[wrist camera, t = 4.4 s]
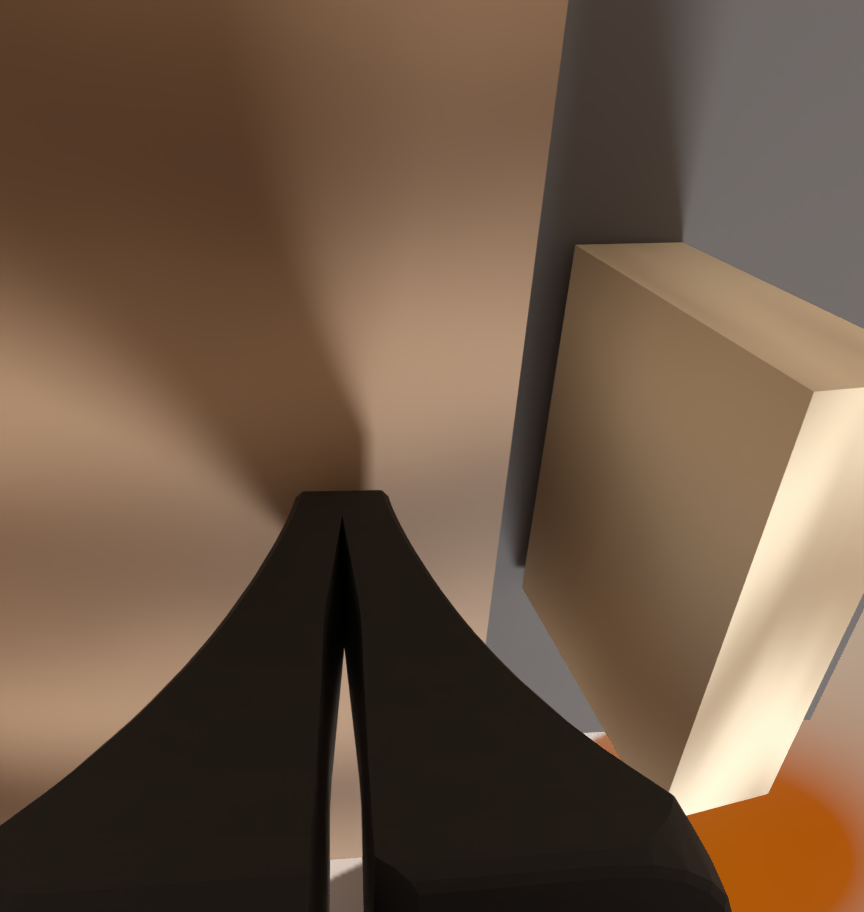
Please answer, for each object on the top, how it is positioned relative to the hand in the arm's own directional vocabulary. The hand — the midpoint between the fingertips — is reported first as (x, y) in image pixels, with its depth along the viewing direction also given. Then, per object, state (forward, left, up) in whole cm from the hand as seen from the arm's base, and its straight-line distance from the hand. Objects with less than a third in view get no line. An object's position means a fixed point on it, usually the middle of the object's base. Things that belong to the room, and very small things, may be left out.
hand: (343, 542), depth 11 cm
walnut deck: (-1, +2, -4) cm, 5 cm away
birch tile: (0, -5, 0) cm, 5 cm away
